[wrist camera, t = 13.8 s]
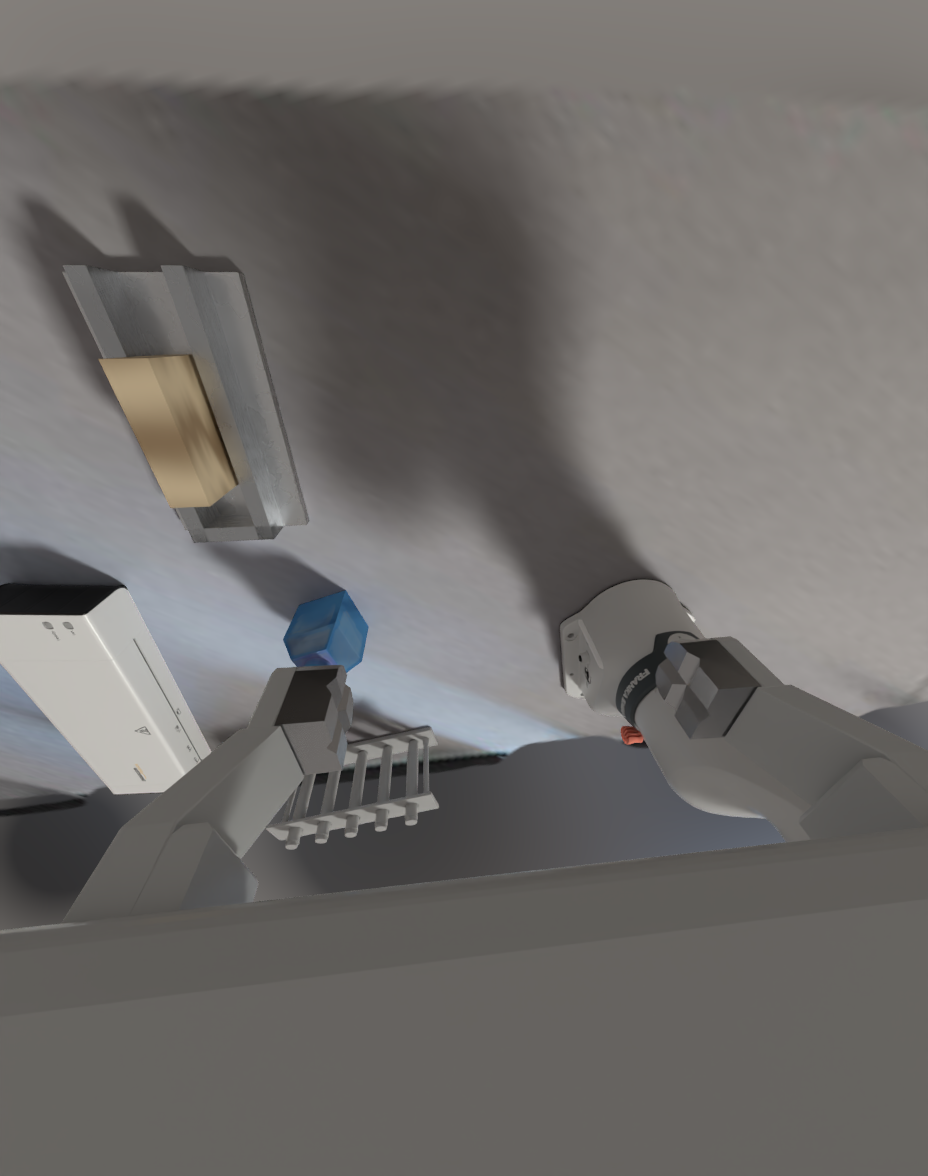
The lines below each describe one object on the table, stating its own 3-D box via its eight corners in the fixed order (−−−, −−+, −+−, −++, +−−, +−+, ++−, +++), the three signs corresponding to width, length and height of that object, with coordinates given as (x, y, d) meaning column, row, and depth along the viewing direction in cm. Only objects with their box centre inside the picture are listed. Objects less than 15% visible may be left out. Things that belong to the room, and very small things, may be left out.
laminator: (214, 753, 60) (195, 791, 55) (131, 756, 59) (104, 795, 54) (125, 579, 41) (83, 613, 36) (0, 577, 40) (-62, 612, 35)
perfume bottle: (368, 626, 48) (353, 702, 38) (325, 640, 48) (299, 717, 38) (345, 590, 44) (323, 662, 34) (299, 605, 45) (263, 680, 35)
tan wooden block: (245, 478, 35) (210, 506, 29) (212, 479, 35) (170, 508, 29) (202, 354, 29) (148, 358, 24) (162, 354, 29) (98, 358, 23)
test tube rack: (299, 770, 65) (274, 857, 54) (287, 756, 62) (258, 846, 51) (437, 740, 63) (440, 824, 52) (430, 725, 61) (432, 810, 50)
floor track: (309, 520, 39) (298, 537, 36) (190, 526, 38) (168, 543, 35) (243, 274, 28) (219, 265, 24) (73, 273, 27) (23, 265, 23)
